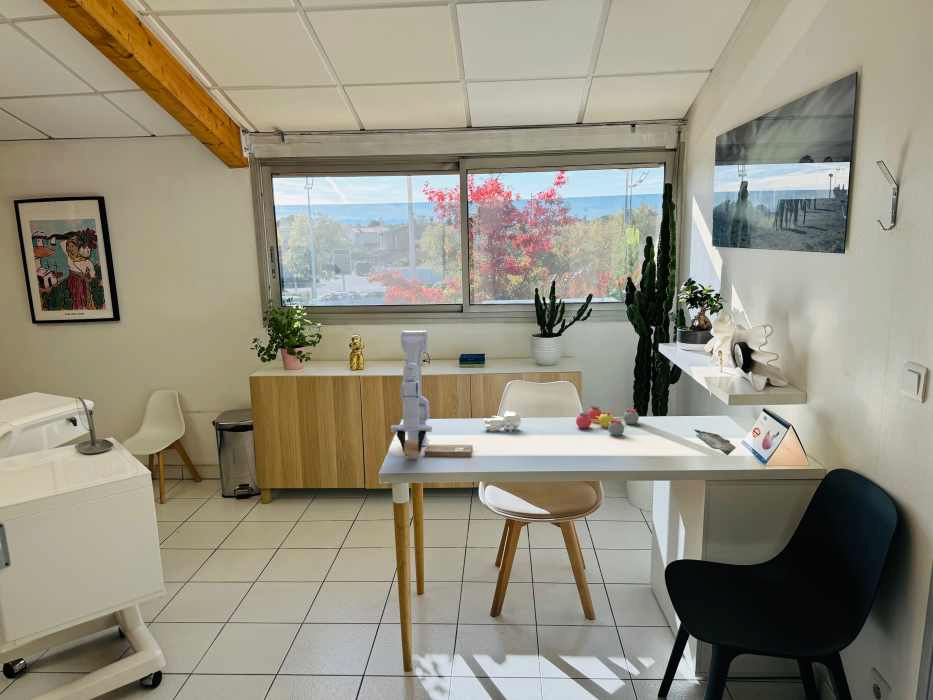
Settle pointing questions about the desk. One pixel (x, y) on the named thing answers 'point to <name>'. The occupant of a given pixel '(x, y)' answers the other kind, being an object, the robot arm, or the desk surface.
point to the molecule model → (606, 420)
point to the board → (448, 450)
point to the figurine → (503, 422)
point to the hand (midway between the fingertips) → (412, 450)
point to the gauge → (411, 448)
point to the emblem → (715, 441)
